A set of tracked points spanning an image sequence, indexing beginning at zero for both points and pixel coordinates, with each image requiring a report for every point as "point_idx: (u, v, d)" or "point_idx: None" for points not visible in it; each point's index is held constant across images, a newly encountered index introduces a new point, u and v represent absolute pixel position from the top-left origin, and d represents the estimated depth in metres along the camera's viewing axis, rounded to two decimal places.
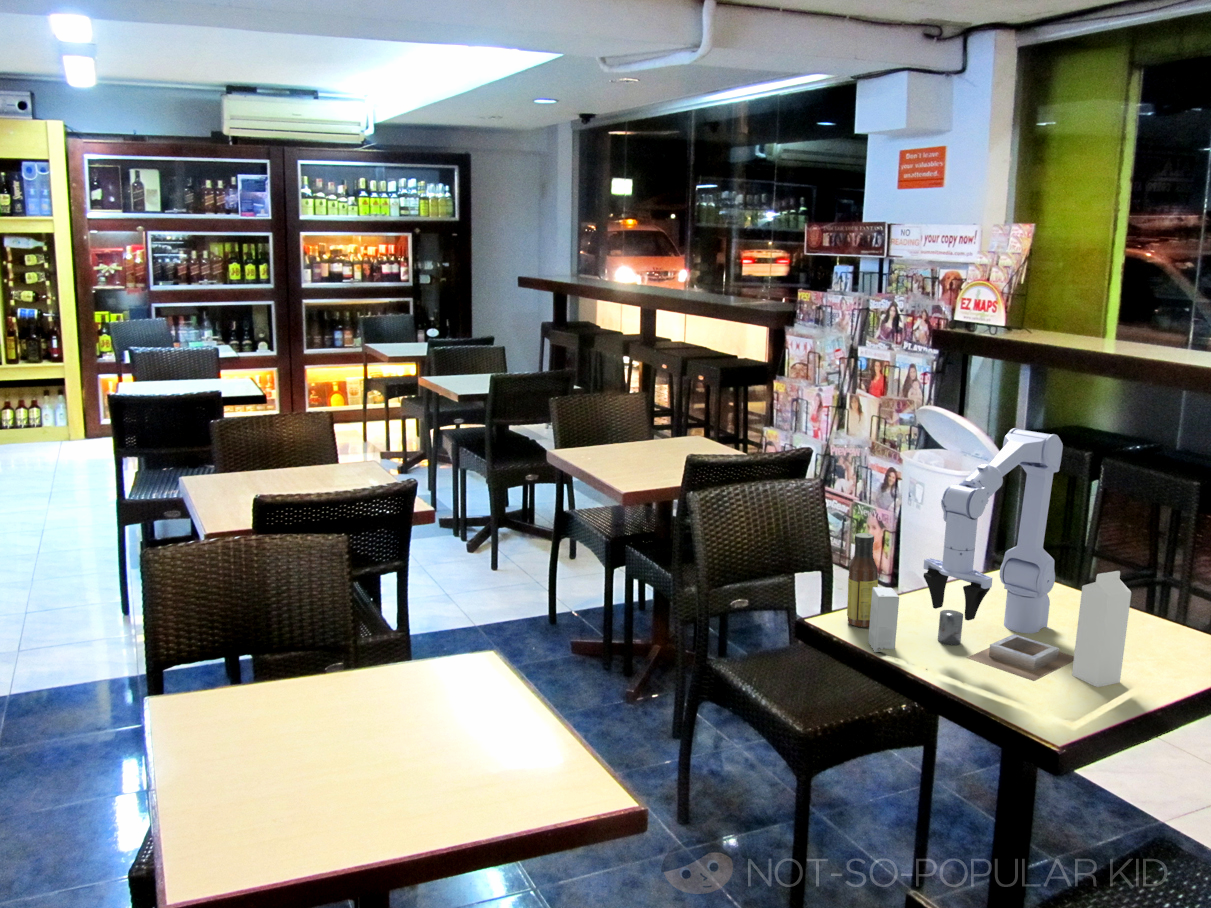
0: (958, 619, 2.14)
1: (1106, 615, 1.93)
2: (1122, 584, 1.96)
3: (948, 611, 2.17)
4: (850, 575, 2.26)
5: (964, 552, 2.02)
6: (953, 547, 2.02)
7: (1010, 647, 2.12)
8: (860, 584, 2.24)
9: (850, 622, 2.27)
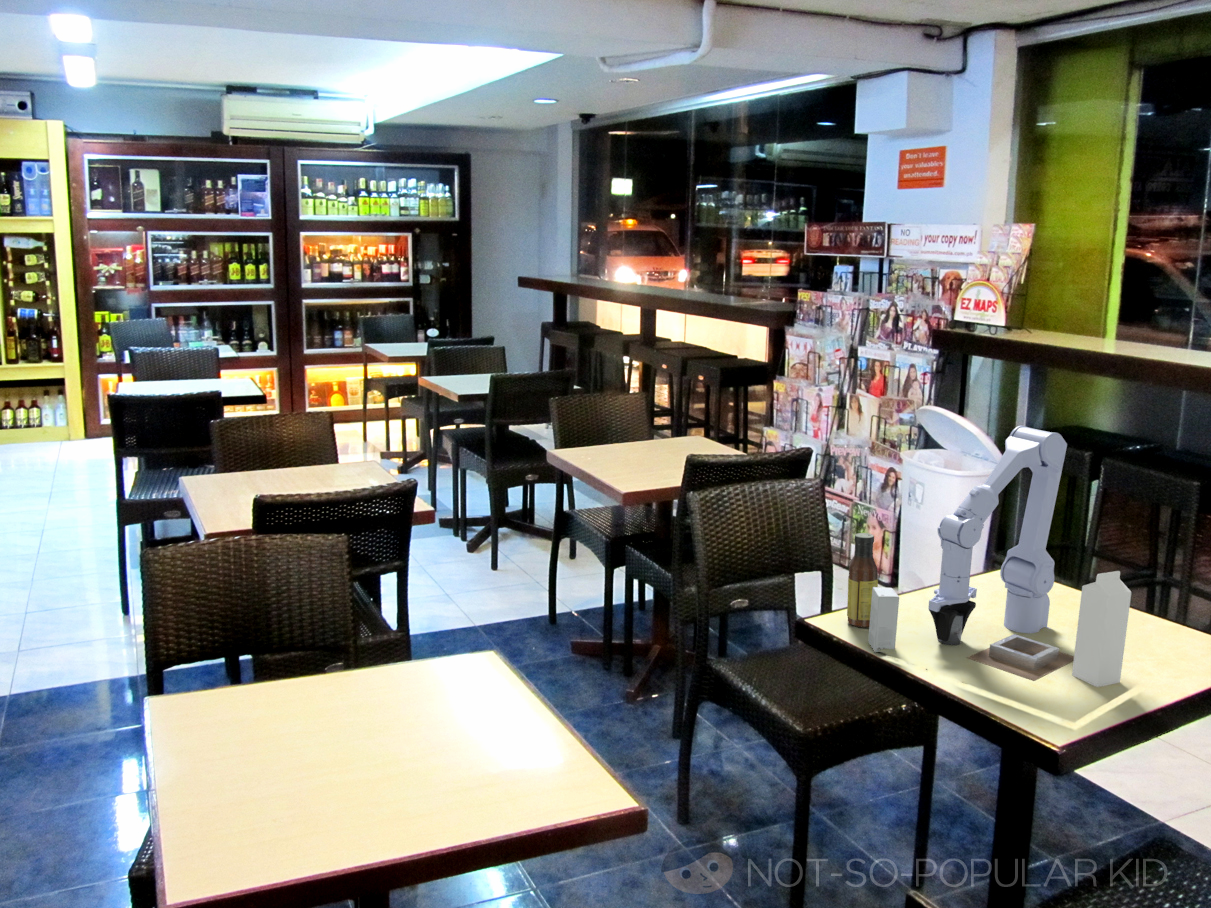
0: (958, 618, 2.14)
1: (1106, 615, 1.93)
2: (1122, 584, 1.96)
3: None
4: (850, 575, 2.26)
5: (941, 575, 2.14)
6: (946, 573, 2.12)
7: (1010, 647, 2.12)
8: (860, 584, 2.24)
9: (850, 622, 2.27)
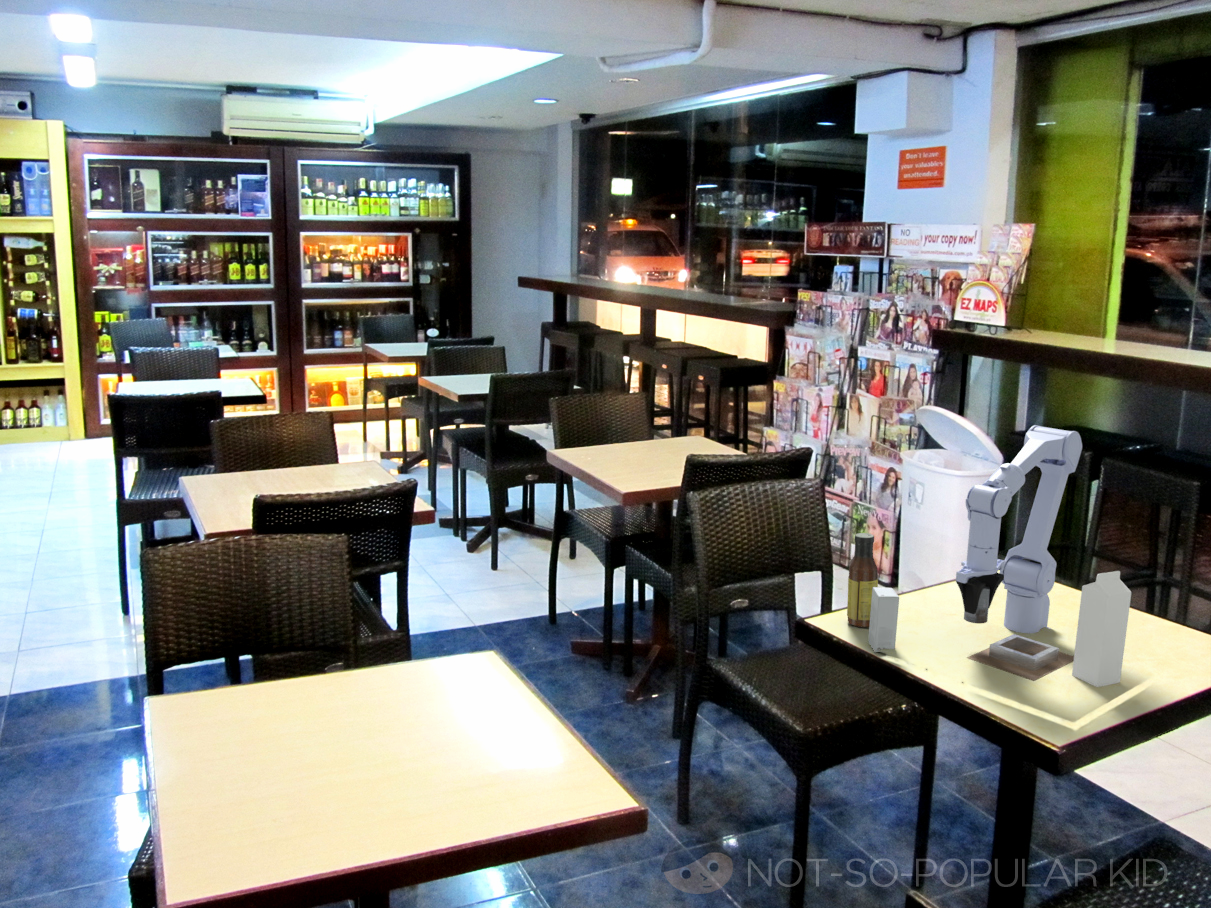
0: (985, 591, 2.10)
1: (1106, 615, 1.93)
2: (1122, 584, 1.96)
3: None
4: (850, 575, 2.26)
5: (969, 546, 2.10)
6: (977, 545, 2.08)
7: (1010, 647, 2.12)
8: (860, 584, 2.24)
9: (850, 622, 2.27)
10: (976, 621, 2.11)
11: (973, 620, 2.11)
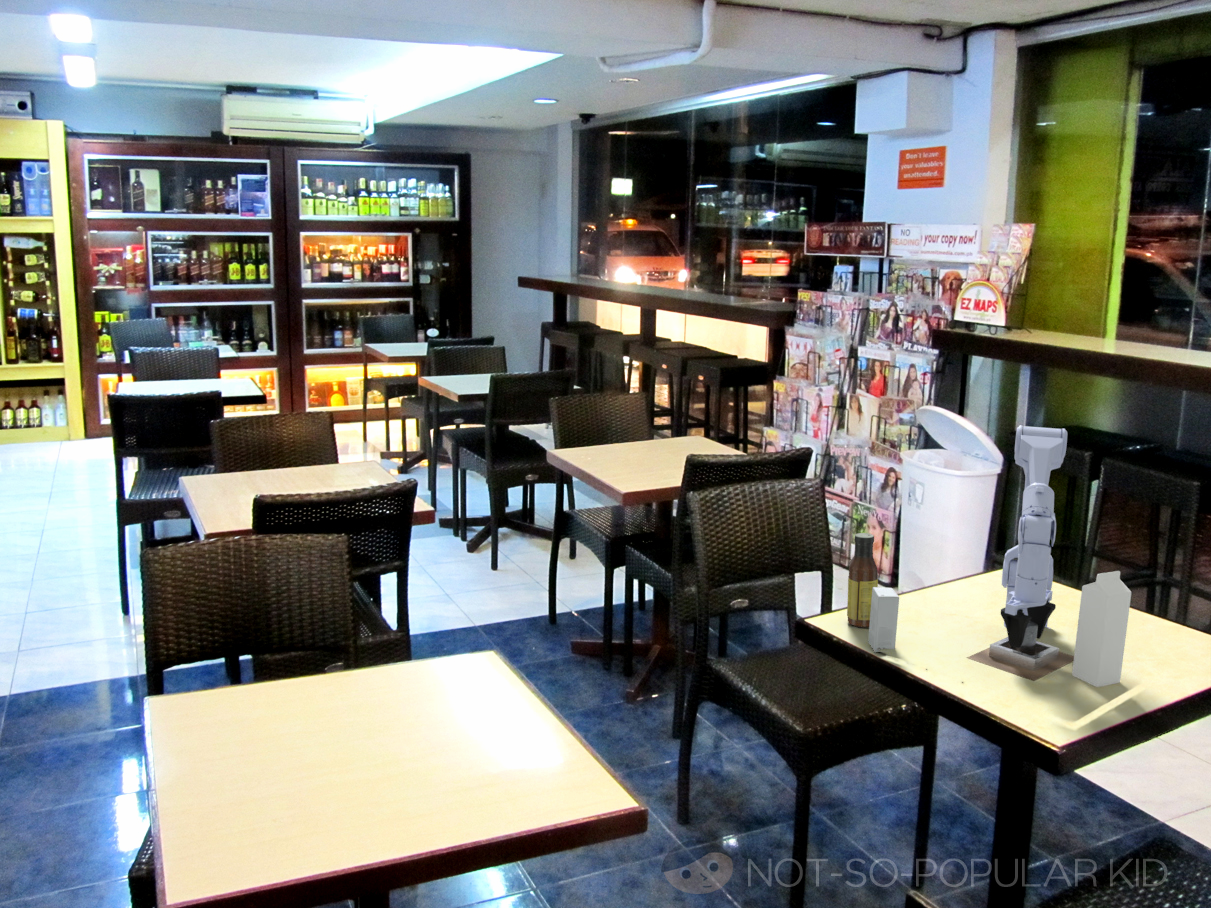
0: (1034, 629, 2.06)
1: (1106, 615, 1.93)
2: (1122, 584, 1.96)
3: None
4: (850, 575, 2.26)
5: (1018, 577, 2.05)
6: (1035, 578, 2.03)
7: (1010, 647, 2.12)
8: (860, 584, 2.24)
9: (850, 622, 2.27)
10: None
11: None
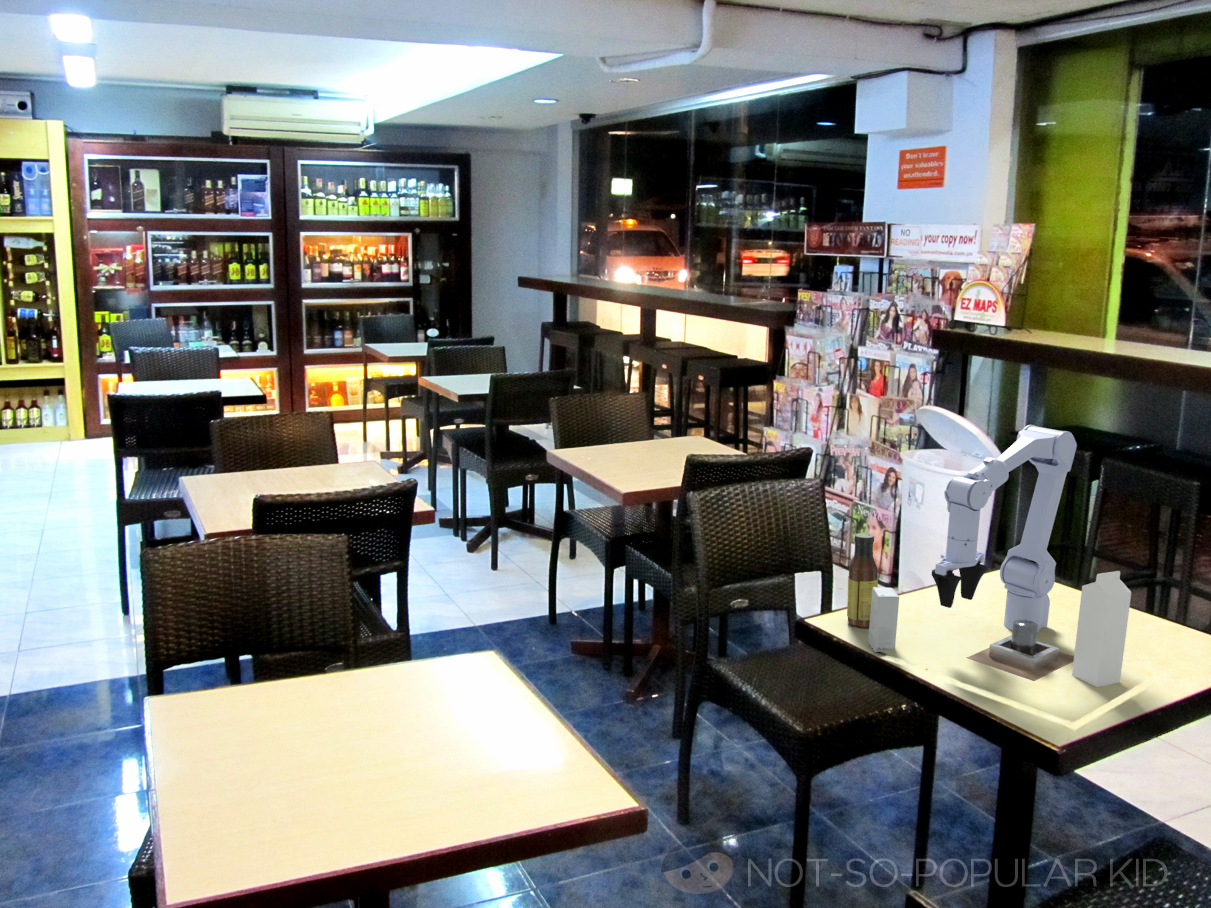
0: (1034, 629, 2.06)
1: (1106, 615, 1.93)
2: (1122, 584, 1.96)
3: (1021, 622, 2.09)
4: (850, 575, 2.26)
5: (948, 538, 2.09)
6: (955, 537, 2.08)
7: (1010, 647, 2.12)
8: (860, 584, 2.24)
9: (850, 622, 2.27)
10: None
11: None
